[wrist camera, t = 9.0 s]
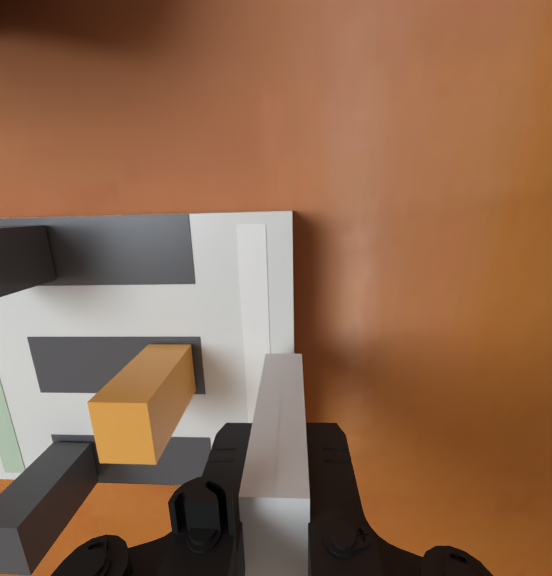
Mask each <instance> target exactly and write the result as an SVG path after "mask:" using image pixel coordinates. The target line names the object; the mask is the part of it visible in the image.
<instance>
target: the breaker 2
mask: <svg viewBox="0 0 552 576" xmlns="http://www.w3.org/2000/svg"><path fill="white" fill-rule="evenodd" d="M98 481H99V480H98V476H97V471H96V466H95V461H94V457H93V452H92V447H91V443H74V442H53V443H52V444H51V445H50V446H49V447H48V448H47V449H46V450H45V451H44V452H43V453H42V454H41V455H40V456H39V457H38V458H37V459H36V460H35V461H34V462H33V463H32V464H31V465H30V466H29V467H27V468H26V469H25V470H24V471H23V472H22V473H21V474H20V475H19V476H18V477H17V478H16V479H15V480H14V481H13V482H12V483H11V484H10V485H9V486H8V487H7V488H6V489H5V490H4V491H3V492H2V493H1V494H0V574H18V575H31V574H32V573H33V572H34V570H35V569H36V567H37V566H38V565H39V563H40V562H41V560H42V559H43V558H44V556H45V555H46V553H47V552H48V551H49V549H50V548H51V546H52V545H53V544H54V542H55V541H56V539H57V538H58V537H59V535H60V534H61V532H62V531H63V530H64V528H65V527H66V525H67V524H68V523H69V521H70V520H71V519H72V517H73V516H74V514H75V513H76V512H77V510H78V509H79V507H80V506H81V505H82V503H83V502H84V500H85V499H86V498H87V496H88V495H89V493H90V492H91V491H92V489H93V488H94V486H95V485H96V484H97V482H98Z"/></svg>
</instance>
